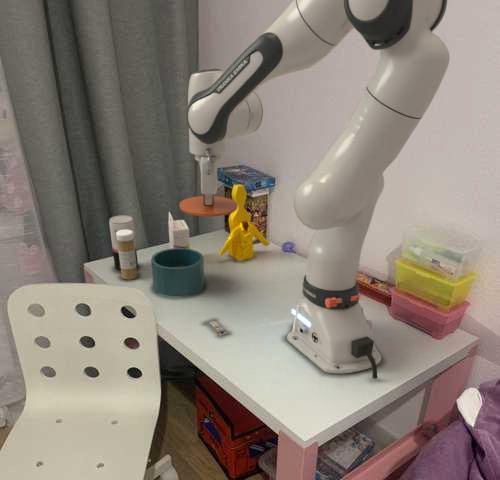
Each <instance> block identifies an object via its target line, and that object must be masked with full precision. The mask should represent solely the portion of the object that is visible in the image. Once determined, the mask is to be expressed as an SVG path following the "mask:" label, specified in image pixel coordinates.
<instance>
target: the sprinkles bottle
mask: <svg viewBox="0 0 500 480" xmlns="http://www.w3.org/2000/svg"><path fill="white" fill-rule="evenodd" d="M116 238H117V241H118V251H119V259H120V267H121V272H120V273H121V278H122V279H124V280H127V281H131V280H135V279H136V278H137V277H138V270H137V269H138V268H137V269H136V256H135V248H134V241H133V240H134V239H133V238H134V235H133V231H131V230H127V229H125V230H119V231H117V232H116Z"/></svg>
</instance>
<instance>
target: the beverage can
mask: <svg viewBox="0 0 500 480" xmlns="http://www.w3.org/2000/svg"><path fill="white" fill-rule="evenodd" d="M108 223H109V224H108V225H109V232H110V239H111V246H112V254H113V262H114V269H115V270H116V271H118V272H119V273H121V267H120V259H119V251H118V241H117V238H116V232H117V231H119V230H125V229H127V230H131V231H133V235H134V238H133V239H134V240H133V241H134V248H135V256H136V269H138V267H139V262H138V252H137V243H136V232H135V224H134V220H133V217H132V216H131V215H123V214H122V215H115V216H112V217H110V218H109V222H108Z"/></svg>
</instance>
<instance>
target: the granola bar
mask: <svg viewBox="0 0 500 480" xmlns="http://www.w3.org/2000/svg"><path fill="white" fill-rule="evenodd" d="M208 323H209V324H210V325H211V326H212V327H213V328H214V329H215V330H217V332H216V333H217V334H218V335H219V336H220V337H222V336H224V335H227V334H229V332H228V331H227V330H226V329H225V328H224V327H223V326H222V325H220V324H219V323H218V322H217V321H215V320H213V321H209V322H208Z"/></svg>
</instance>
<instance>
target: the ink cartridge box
mask: <svg viewBox="0 0 500 480" xmlns="http://www.w3.org/2000/svg"><path fill="white" fill-rule="evenodd" d="M168 237H169V238H168V239H169V249H172V248H186V249H191V247H190V228H189V226H188V225H187V223H186V221H185V219H177V220H174V218H173V216H172V214H171V212H170V211H168Z"/></svg>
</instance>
